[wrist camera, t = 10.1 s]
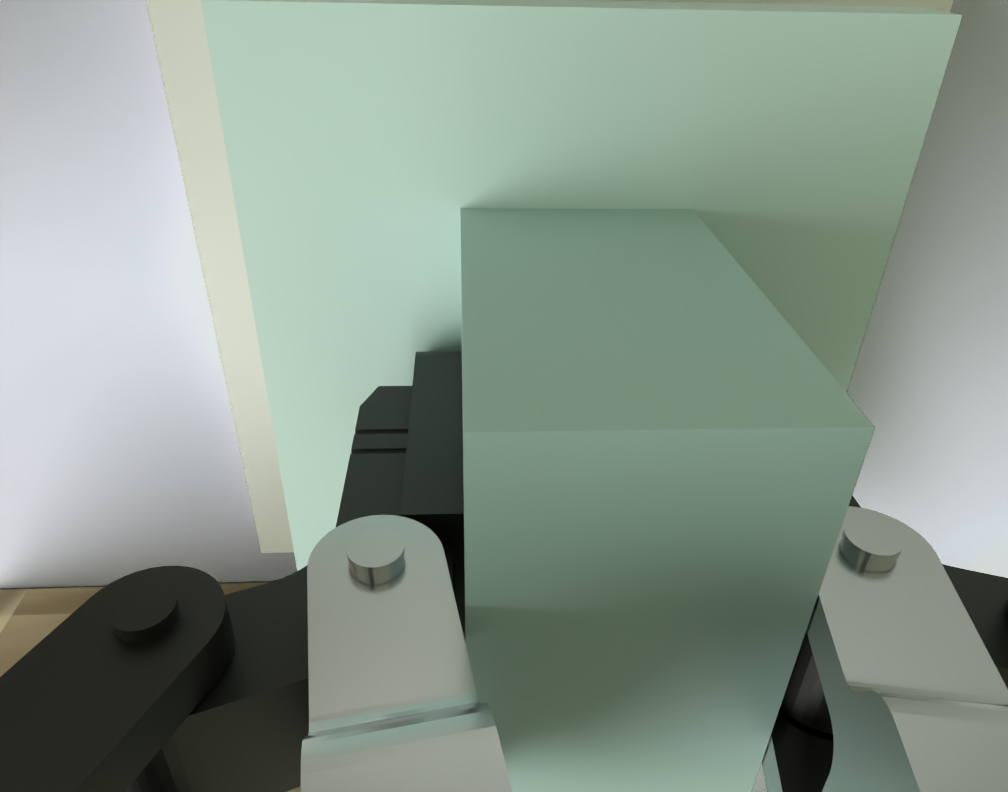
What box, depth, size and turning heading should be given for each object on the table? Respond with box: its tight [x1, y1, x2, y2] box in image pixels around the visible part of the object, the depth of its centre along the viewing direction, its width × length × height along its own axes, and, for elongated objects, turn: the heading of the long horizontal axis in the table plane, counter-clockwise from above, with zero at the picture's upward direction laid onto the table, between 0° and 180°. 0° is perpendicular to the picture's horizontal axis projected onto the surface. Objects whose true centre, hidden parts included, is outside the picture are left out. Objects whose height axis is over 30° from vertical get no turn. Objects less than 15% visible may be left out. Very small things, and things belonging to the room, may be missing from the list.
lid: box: [201, 0, 962, 792], centre depth 10 cm, size 11×9×6 cm
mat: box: [146, 0, 954, 553], centre depth 14 cm, size 12×12×1 cm
